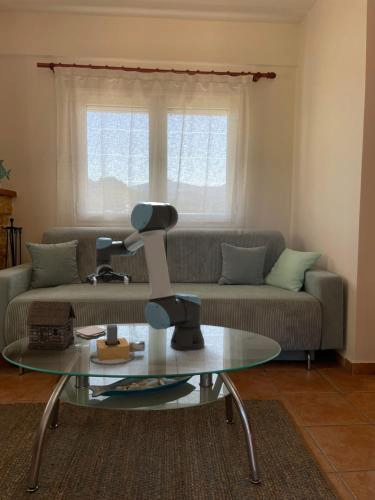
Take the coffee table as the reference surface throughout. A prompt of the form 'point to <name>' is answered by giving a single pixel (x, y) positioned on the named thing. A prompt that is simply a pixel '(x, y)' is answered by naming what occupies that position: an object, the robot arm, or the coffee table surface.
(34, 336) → the model building
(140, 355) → the coffee table surface
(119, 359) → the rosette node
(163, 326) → the robot arm
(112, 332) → the wedge pin
